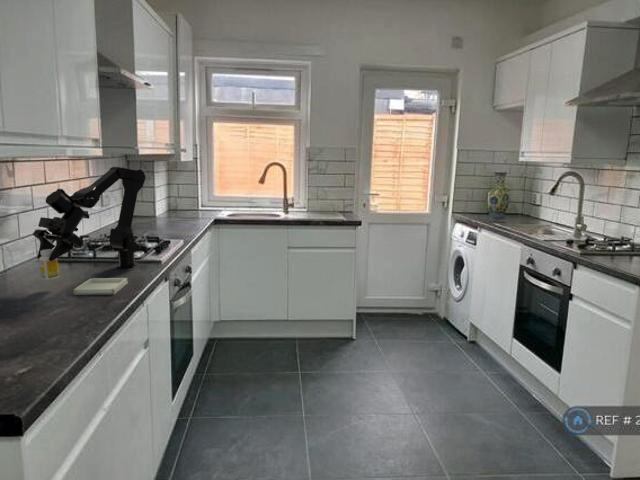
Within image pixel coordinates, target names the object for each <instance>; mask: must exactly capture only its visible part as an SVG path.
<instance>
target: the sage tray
mask: <svg viewBox="0 0 640 480" xmlns="http://www.w3.org/2000/svg"><path fill="white" fill-rule="evenodd" d="M127 284H129V277H108V278H107V277H105V278H104V277H102V278H101V277H99V278H98V277H97V278H96V277H93V278H92V277H91V278H90V277H89V279H87V280H86V281H84V282H83V283H81V284H80V285H78V286H77V287H75V288H73V295H74V296H81V295H82V296H88V295H90V296H92V295H94V296H95V295H96V296H97V295H98V296H99V295H102V296H103V295H104V296H105V295H106V296H107V295H116V294H117V293H118V292H119V291H121V290H122V288H124V287H126V285H127Z"/></svg>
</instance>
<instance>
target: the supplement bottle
mask: <svg viewBox="0 0 640 480" xmlns="http://www.w3.org/2000/svg"><path fill="white" fill-rule="evenodd" d="M53 250H54V248H53V249H45V250H41V251H40V253H41V255H42V256H41V257H40V258H39V259H38V263H39V271H40V277H41V280H44V281H50V280H56V279H58V278H59V277H60V271H59V261H58V258H56V259H55V260H53V261H50V260H49V257H50V255H51V253H52V252H53Z"/></svg>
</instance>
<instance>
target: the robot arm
mask: <svg viewBox="0 0 640 480" xmlns="http://www.w3.org/2000/svg"><path fill="white" fill-rule="evenodd" d="M119 180H121V183H122V187H123V189H124V190H123V191H124V192H123V196H122V201H121V206H120V211H119V215H118V221H117V222H118V223H117V226H115V228H111V229H110V230H109V231H110V232H109V237H108V240H109V244H110V246H111V247H112V249H113V252H118V261H119V263H118V265H116V268H117V269H119V268H122V269H125V268H126V269H127V268H128V269H129V268H131V269H132V268H134V267H136V266H137V265H138V264H139V262H135V253H136V252H138V251H139V250H140V249H139V248H140V245H139V244H138V243H137V242H136V241H135V240H134V232H133V230H132V229H133V228H132V225H133V219H134V214H135V208H136V204H137V198H138V193H139V192H140V191H141V189H142V188H143V187H144V184H145V181H146V174H145V172H144V171H143V170H142V169H136V168H134V169H133V168H125V167H123V166H111V167H110V168H109V170H107V172H105V173H104V174H102V175H101V176H100V177H99V178H98V179H96V180H95V181H94V182H93V183H92V184H90V185H89V186H86V187H84V188H81V189H79V190H76V191H75V192H73V194H72V195H68V193H66V191H65V190H64V189H63V188H57V189H56V190H55V191H52V192H51V193H50V194H48V195H47V196H46V199H45V203H46V204H47V205H48V206H49V207H50V208H52V209H53V210H54V211H55V212H56V213H58V214H60V215H62V216H61V217H59V216H53V218H49V217H40V219H39V221H38V225H37V226H38V227H39V228H40V229H39V228H38V229H35V230H34V232H32V236H34V237H35V238H37V239H38V240H39V243H40V244H39V247H38V249H39V250H38V252H37V256H36V257H37V259H38V260H39V258H40V257H41V256H42V255H41V253H40V251H41V250H45V249H54V250H53V252H52V253H51V255H50V257H49V260H50V261H53V260H55V259H56V258H57V259H58V258H59V257H61V256H63V255H65V254H66V253H68V252H70V251H72V250H74V249H80V250H81V249H82V247H83V246H84V240H83V239H82V238H81V237H79V236H78V235H77V234H76V232H79V228H77V227H78V226H79V224H80V223H81V222H82V220H83V219H90V214H89V211H88V210H84V209H92V208H94V207H95V206H96V205H97V203H98V202H99V201H100V199H101V196H102V194H103V193H105V192H106V191H107V190H108V189H109V188H111V186H113V185H114V184H115V183H116V182H118V181H119ZM83 208H84V209H83ZM41 228H45V229H41ZM46 229H47V230H46ZM74 232H75V233H74ZM54 242H55V243H56V244H54Z"/></svg>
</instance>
